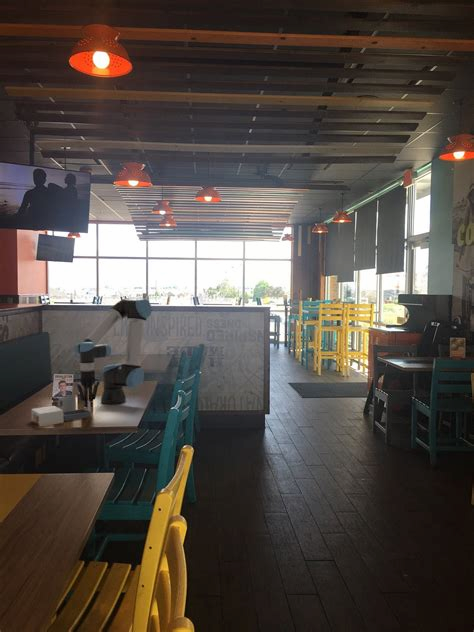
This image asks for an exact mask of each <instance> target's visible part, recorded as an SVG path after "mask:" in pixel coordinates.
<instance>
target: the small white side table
mask: <svg viewBox="0 0 474 632" xmlns="http://www.w3.org/2000/svg"><path fill="white" fill-rule="evenodd" d="M31 422H33V423H35V424H37V425H38V426H39V427H44V426H52V425H57V424H63V423H64V422H65V421H63V410H62V409H60V408H59V407H58V406H56V405H51V406H44V407H36V408H31Z"/></svg>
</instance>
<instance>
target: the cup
mask: <svg viewBox="0 0 474 632" xmlns="http://www.w3.org/2000/svg"><path fill="white" fill-rule="evenodd" d="M76 398H77V397H76V395H75V394H67V395H63V396H62V397H60V398H59V399H58V400H57V407H58V408H60V409H62V410H63V412H65V411H72V410H77V406H76V403H77V402H76Z"/></svg>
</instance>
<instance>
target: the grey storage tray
mask: <svg viewBox="0 0 474 632" xmlns="http://www.w3.org/2000/svg"><path fill="white" fill-rule="evenodd" d="M91 413H92V412H90V411H88V410H86V408H79V409H76V410H72V411H65V412H63V421H64V422H71V421H76V420H83V419H89V418H91Z"/></svg>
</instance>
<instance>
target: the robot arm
mask: <svg viewBox="0 0 474 632" xmlns="http://www.w3.org/2000/svg"><path fill="white" fill-rule="evenodd" d="M151 315H152V304H151V303H150V302H149V300H148V299H146V298H135V297H134V298H130V297H129V298H122V299H121V300H119V301H118V302H116V303H115V304H114V305H113V306H112V307H111V308H110V309H109V310H108V314H107V315H106V316H105V317H103V319H102V320H101V321H100V322H99V324H97V326H96V327H95V328H94V329H93V330H92V331H91V332H90V334H89V335H87V337H85V339H84V340H83V341H82V342H76V343H75V345H74V348H73V352H74V354H75V355H77V356H79V358H80V359H79V361H80V362H79V363H80V366H79V368H80V369H79V370H80V380H79V382H78V383H76V384H75V386H76V387H77V390H78V394H79V397H80V401H83V402H84V407H85V410H88V411H90V412H91V410H92V409H91V407H92V406H93V401H94V400H96V397H97V393H98V389H99V385H100V383H101V382H100V381H97V380H96V378H95V377H96V376H95V375H96V374H95V373H96V371H95V365H96V363H95V359H100V358H101V359H102V358H106V357H109V356H110V355H111V353H112V347H111V345H110V344H109V343H101V342H102V340H103V339H104V338H105V337H107V335H108V334H109V333H110V331H111V330H112V329H113V328H114V327H115V326H116V325H117V324H118V323H119V322H122V320H123V319H125V318H126V320H127V321H128V328H127V329H128V330H127V331H128V332H127V338H126V348H125V353H124V361H122V363H115V364H109V365H105V366H104V367H103V368H102V369H103V370H102V371H103V372H102V379H103V383H102V384H103V392H102V395H101V398H100V403H101V404H104V405H117V404H122V403H125V401H126V402H127V398H126V394H125V392H124V387H126V388H127V387H128V388H137V387H139V386H140V385H141V384H142V383H143V381H144V377H145V373H144V370H143V369H142V365H141V364H140V354H141V348H142V347H141V346H142V339H143V330H144V324H145V323H146V322H147V319H148V318H150V316H151ZM93 385H94V386H93ZM82 387H83V389H82ZM91 413H92V412H91Z"/></svg>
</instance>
